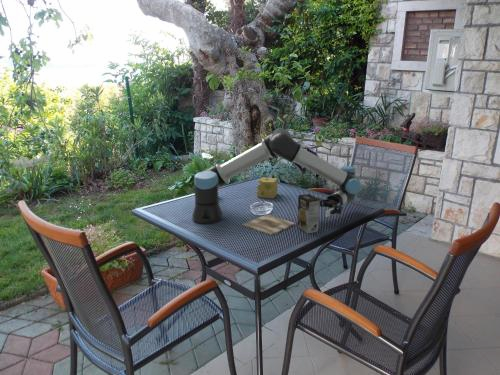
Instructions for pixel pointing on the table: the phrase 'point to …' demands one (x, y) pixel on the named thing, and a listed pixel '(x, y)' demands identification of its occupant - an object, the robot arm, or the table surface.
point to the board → (269, 224)
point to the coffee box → (308, 213)
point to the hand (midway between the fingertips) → (313, 210)
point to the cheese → (267, 187)
